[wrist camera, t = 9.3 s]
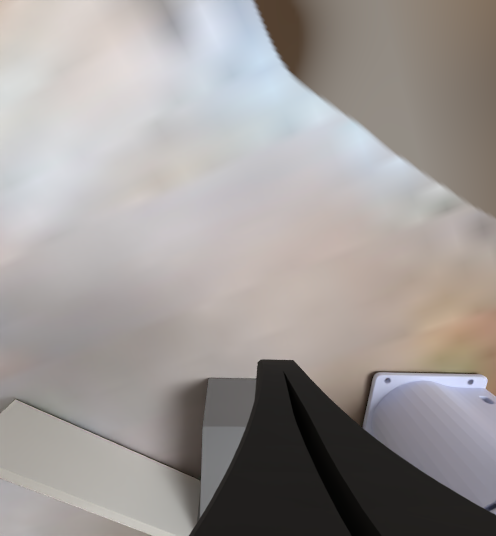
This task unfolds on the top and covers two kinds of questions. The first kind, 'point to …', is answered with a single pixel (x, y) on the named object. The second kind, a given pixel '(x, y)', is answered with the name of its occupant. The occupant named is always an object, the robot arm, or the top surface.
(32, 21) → the top surface
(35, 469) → the door
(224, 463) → the block
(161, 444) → the top surface
